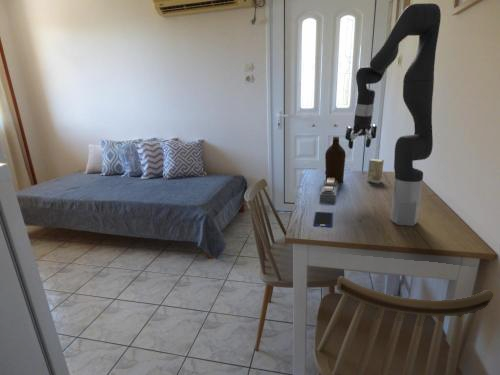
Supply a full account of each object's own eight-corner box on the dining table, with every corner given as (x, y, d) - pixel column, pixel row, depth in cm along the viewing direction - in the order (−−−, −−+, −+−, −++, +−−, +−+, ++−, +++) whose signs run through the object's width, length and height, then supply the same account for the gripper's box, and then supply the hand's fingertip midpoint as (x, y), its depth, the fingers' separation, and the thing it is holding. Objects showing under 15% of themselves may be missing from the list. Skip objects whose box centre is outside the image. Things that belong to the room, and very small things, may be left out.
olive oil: (348, 181, 167) (350, 136, 159) (336, 185, 161) (337, 139, 153) (332, 177, 175) (334, 134, 168) (320, 181, 169) (321, 137, 162)
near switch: (332, 191, 140) (332, 188, 140) (324, 190, 141) (324, 187, 141) (333, 189, 145) (333, 186, 145) (325, 188, 146) (325, 186, 146)
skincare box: (367, 181, 165) (368, 160, 161) (370, 179, 168) (371, 158, 164) (378, 183, 161) (380, 161, 157) (381, 181, 164) (383, 159, 160)
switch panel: (335, 202, 139) (335, 193, 138) (319, 201, 141) (320, 192, 140) (338, 187, 159) (338, 179, 157) (324, 186, 161) (324, 179, 160)
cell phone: (312, 227, 117) (312, 225, 117) (315, 213, 130) (315, 211, 129) (332, 228, 115) (332, 226, 115) (332, 214, 128) (333, 212, 127)
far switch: (333, 184, 151) (334, 182, 151) (326, 184, 153) (326, 181, 152) (334, 180, 156) (334, 177, 155) (327, 179, 157) (327, 177, 156)
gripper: (353, 116, 132) (348, 151, 139) (382, 114, 134) (377, 148, 142) (345, 112, 139) (341, 146, 146) (373, 110, 141) (368, 144, 148)
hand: (359, 147), depth 144 cm, fingers open, 8 cm apart
